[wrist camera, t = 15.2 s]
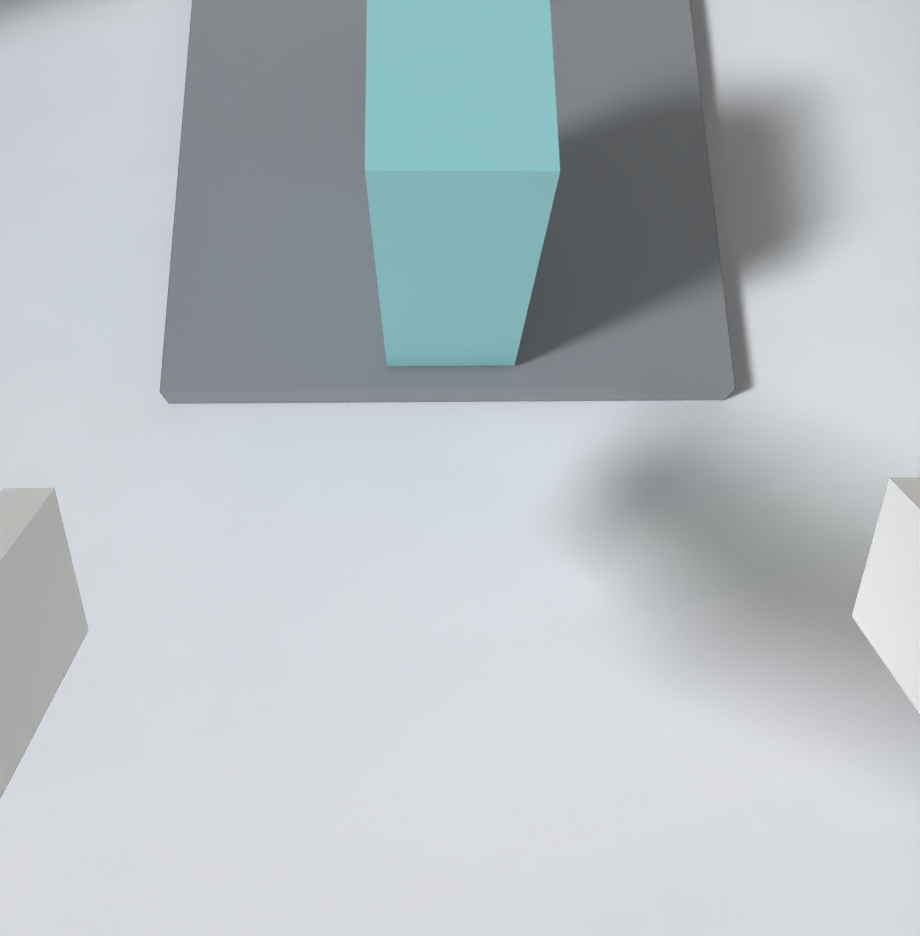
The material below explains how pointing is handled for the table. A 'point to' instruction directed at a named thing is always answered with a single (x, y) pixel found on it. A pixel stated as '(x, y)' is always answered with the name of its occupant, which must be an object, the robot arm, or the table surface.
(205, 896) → the table surface
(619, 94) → the ticket stand
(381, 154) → the stub
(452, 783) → the table surface
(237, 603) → the table surface
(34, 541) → the robot arm
